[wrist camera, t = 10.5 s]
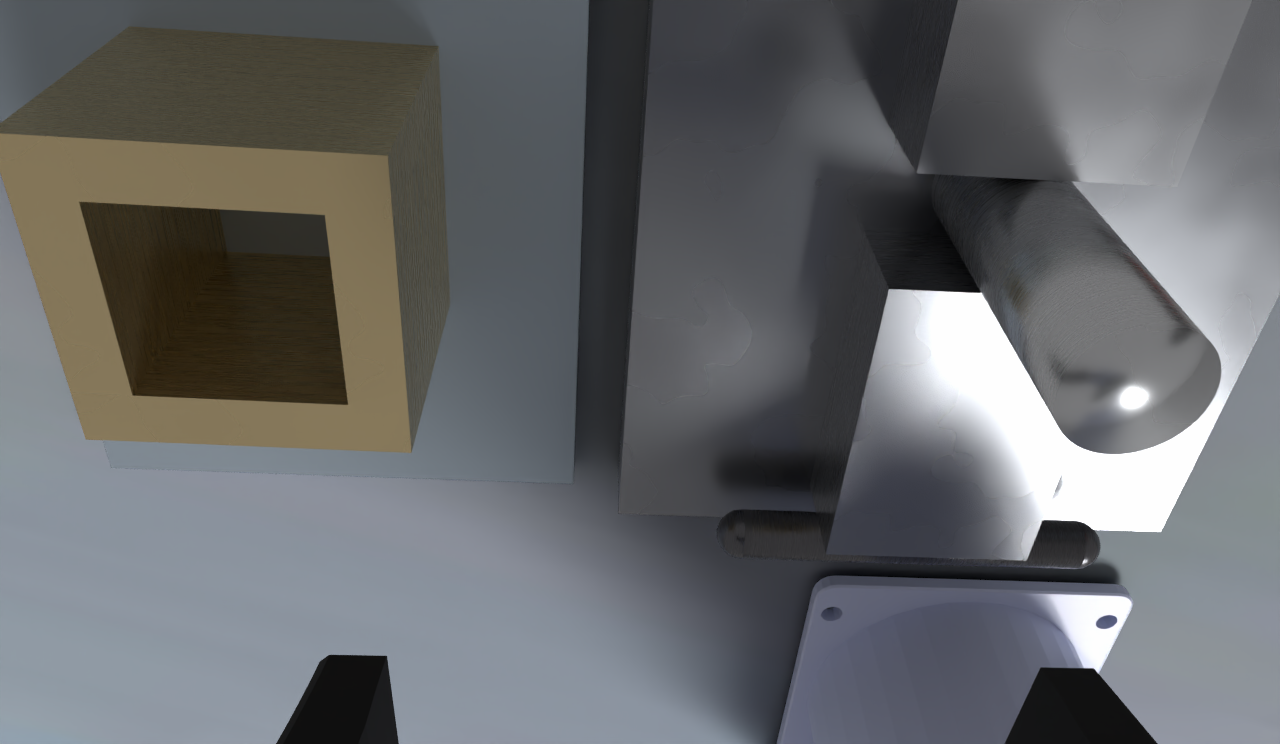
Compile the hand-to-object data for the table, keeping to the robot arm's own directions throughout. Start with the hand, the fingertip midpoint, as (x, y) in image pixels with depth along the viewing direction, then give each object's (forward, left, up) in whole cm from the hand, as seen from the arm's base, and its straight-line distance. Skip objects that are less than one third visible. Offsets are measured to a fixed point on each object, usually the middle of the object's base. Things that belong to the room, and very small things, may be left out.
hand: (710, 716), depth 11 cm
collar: (+2, +7, -10) cm, 12 cm away
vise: (+3, -5, -10) cm, 12 cm away
